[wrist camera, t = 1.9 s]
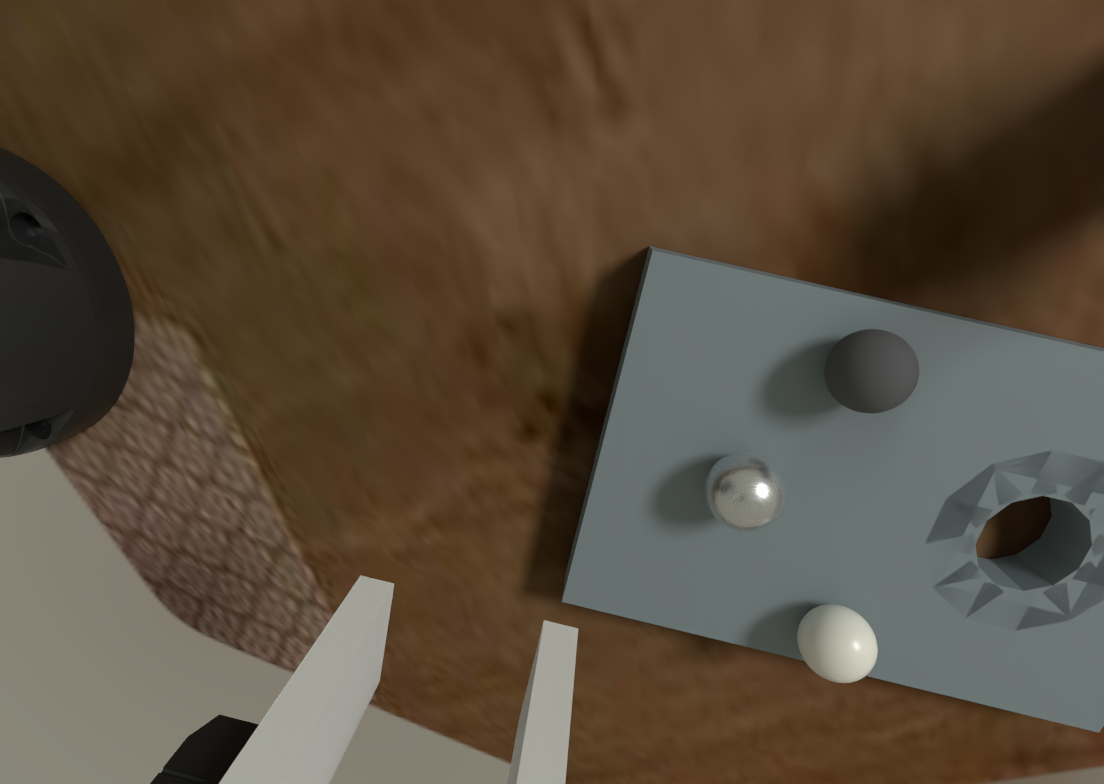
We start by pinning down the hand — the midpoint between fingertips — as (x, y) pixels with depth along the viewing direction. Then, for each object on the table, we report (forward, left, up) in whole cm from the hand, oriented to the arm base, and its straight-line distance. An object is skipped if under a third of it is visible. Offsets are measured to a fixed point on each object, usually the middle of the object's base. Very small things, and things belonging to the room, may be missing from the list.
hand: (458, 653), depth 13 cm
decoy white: (+15, -6, -12) cm, 20 cm away
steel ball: (+9, 0, -12) cm, 15 cm away
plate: (+16, 0, -17) cm, 23 cm away
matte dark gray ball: (+12, +6, -12) cm, 18 cm away
